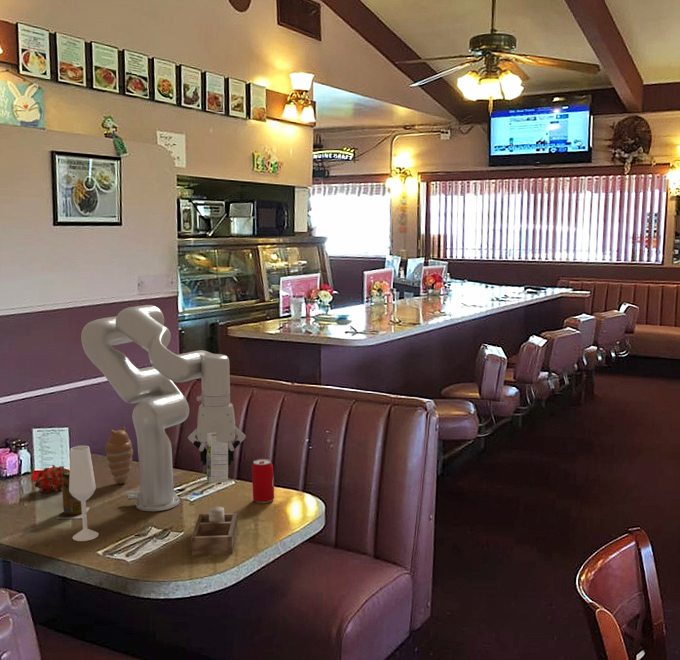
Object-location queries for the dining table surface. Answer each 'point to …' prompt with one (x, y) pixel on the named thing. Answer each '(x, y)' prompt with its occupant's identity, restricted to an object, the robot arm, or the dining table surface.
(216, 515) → the caddy
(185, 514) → the dining table surface
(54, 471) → the dragon fruit
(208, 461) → the syrup box
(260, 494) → the beverage can
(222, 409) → the robot arm
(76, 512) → the condiment
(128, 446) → the cat ice cream
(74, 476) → the champagne flute
